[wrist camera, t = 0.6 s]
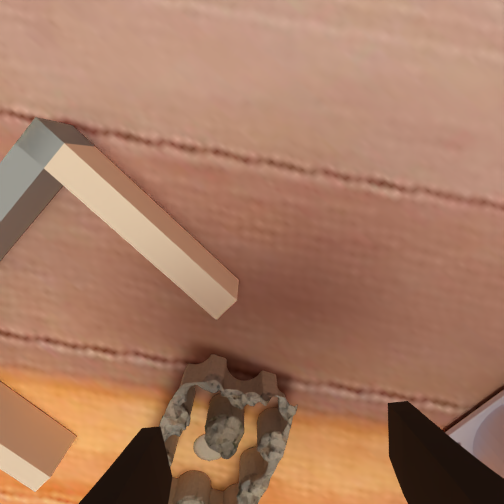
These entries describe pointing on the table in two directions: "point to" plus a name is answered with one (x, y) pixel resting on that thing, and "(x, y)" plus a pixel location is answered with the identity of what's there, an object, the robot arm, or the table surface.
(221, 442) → the egg carton
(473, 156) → the table surface
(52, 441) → the display bay
